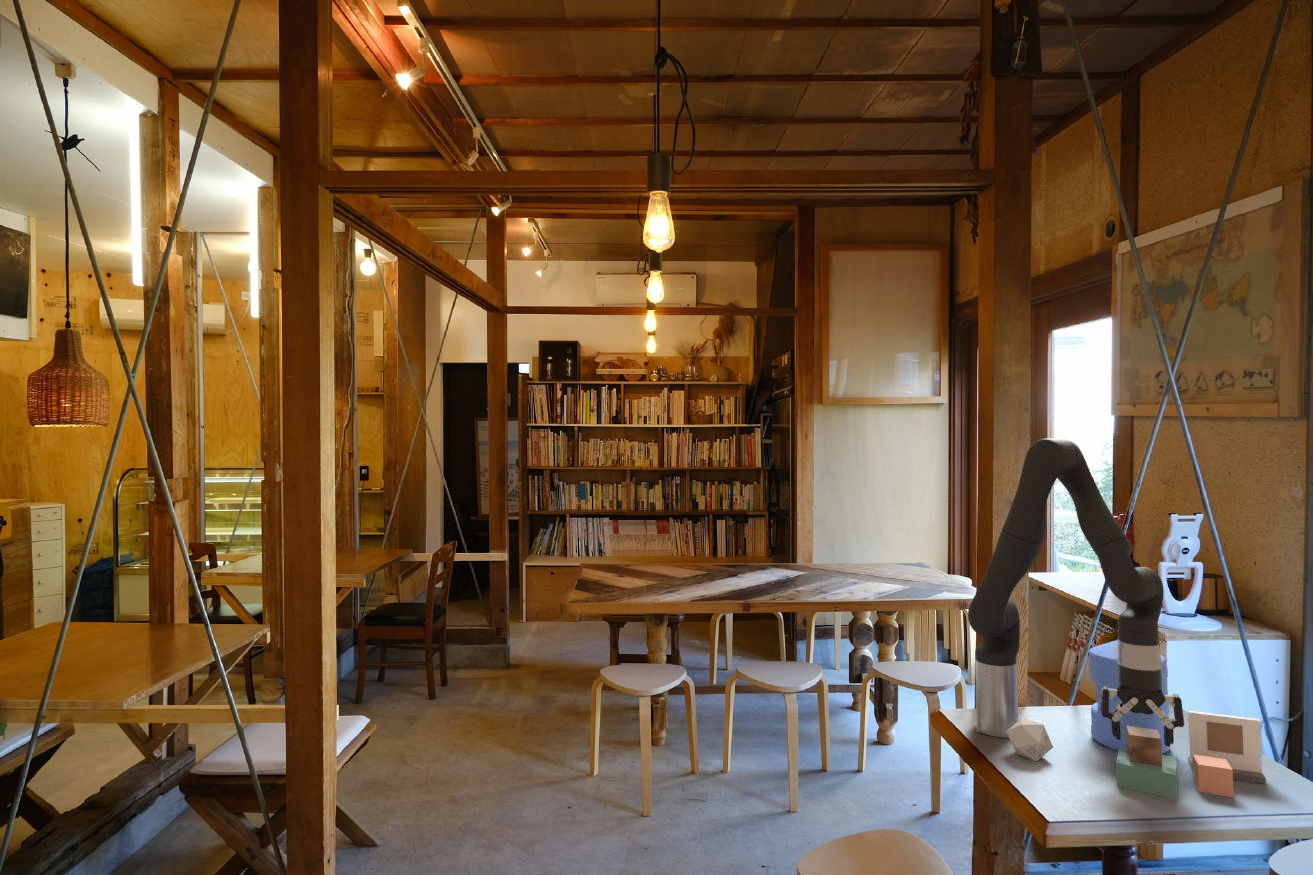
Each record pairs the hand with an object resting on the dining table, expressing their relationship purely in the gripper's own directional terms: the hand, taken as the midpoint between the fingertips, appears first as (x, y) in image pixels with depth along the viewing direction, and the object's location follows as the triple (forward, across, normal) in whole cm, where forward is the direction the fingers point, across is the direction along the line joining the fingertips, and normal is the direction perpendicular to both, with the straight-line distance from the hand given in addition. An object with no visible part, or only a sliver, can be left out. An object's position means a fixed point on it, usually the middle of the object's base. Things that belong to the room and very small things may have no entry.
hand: (1142, 741), depth 148 cm
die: (+8, +21, -4) cm, 23 cm away
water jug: (+8, 0, -22) cm, 24 cm away
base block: (+8, -1, +1) cm, 9 cm away
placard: (+8, -16, -12) cm, 22 cm away
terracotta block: (+8, -12, -2) cm, 15 cm away
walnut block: (+3, 0, 0) cm, 3 cm away
